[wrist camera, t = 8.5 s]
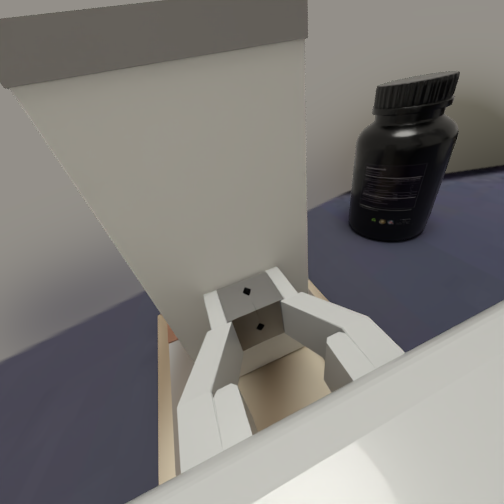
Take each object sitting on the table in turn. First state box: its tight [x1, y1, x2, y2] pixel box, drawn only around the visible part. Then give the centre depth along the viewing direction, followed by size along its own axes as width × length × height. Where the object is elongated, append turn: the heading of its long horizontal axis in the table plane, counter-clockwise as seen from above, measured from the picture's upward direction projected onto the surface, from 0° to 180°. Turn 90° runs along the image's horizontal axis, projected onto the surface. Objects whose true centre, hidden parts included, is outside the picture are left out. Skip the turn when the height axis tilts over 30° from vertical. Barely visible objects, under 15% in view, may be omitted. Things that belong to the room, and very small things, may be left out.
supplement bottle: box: [349, 71, 460, 241], centre depth 19 cm, size 7×7×12 cm
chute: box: [158, 279, 331, 485], centre depth 10 cm, size 12×19×2 cm, turn 21°
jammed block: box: [0, 0, 308, 377], centre depth 10 cm, size 6×6×14 cm
